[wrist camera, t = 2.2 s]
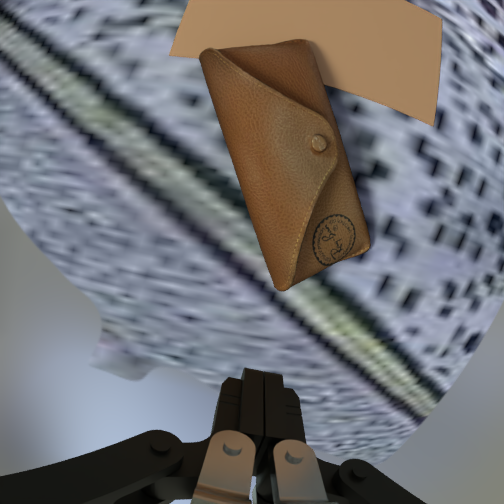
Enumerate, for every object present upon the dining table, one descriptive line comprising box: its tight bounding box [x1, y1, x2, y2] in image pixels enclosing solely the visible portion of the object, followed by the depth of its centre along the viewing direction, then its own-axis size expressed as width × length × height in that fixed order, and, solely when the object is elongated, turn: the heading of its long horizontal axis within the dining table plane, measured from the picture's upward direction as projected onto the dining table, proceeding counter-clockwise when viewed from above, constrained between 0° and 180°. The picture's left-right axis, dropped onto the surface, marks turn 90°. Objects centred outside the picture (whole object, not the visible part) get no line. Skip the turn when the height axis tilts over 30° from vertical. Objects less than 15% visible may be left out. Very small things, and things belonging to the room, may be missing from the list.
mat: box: [169, 0, 442, 126], centre depth 19 cm, size 12×22×1 cm, turn 77°
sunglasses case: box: [199, 39, 371, 291], centre depth 20 cm, size 18×7×7 cm
